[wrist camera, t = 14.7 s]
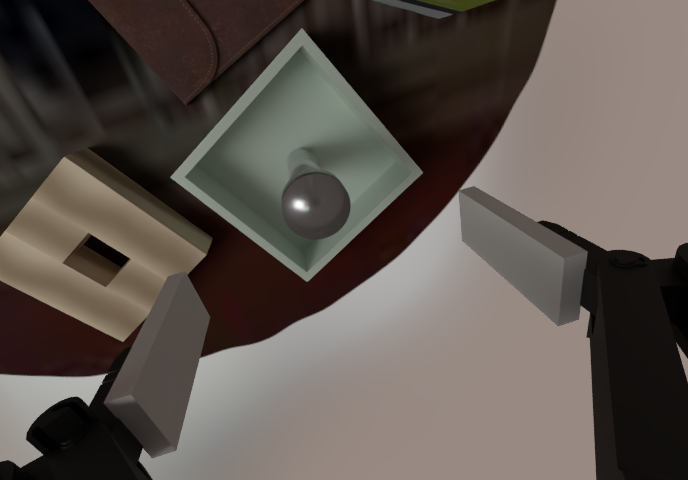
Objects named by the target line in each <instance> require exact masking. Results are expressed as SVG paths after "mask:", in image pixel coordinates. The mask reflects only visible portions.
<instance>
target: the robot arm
mask: <svg viewBox="0 0 688 480" xmlns="http://www.w3.org/2000/svg"><path fill="white" fill-rule="evenodd" d="M459 202H460V215H461V228H462V229H461V230H462V241H463V242H465V243H466V244H467V245H468V246H469V247H470V248H471V249H472V250H474V251H475V252H476V253H477V254H478V255H479V256H480V257H481V258H483V259H484V260H485V261H486V262H487V263H488V264H489V265H490V266H492V267H493V268H494V269H495V270H496V271H497V272H498V273H499V274H500V275H501V276H503V277H504V278H505V279H506V280H507V281H508V282H509V283H510V284H512V285H513V286H514V287H515V288H516V289H517V290H518V291H519V292H520V293H522V294H523V295H524V296H525V297H526V298H527V299H529V301H531V302H532V303H533V304H534V305H535V306H536V307H537V308H538V309H540V310H541V311H542V312H543V313H544V314H545V315H546V316H547V317H548V318H550V319H551V320H552V321H553V322H554V323H555V324H557V326H560V325H563V324H566V323H569V322H572V321H575V320H578V319H579V314H580V307H581V306H583V307H584V308H585V309H586V310H588V311H589V312H590V319H589V325H588V332H587V337H588V338H590V349H591V372H592V393H593V415H594V437H595V458H596V478H597V479H596V480H688V382H687V378H686V375H685V372H684V368H683V365H682V361H681V358H680V354H679V351H678V348H677V344H678V345H679V347H680V348H681V350H682V351H683V352H684V354H685V355H686V357H687V358H688V243H685V244H682V245H680V246H679V247H678V249H677V251H676V255H675V258H668V259H656V260H650V259H649V258H648V257H646V256H644V255H643V254H640V253H636V252H633V251H627V250H611V251H606V250H604V249H603V248H600V247H599V246H597V245H595V244H593V243H591V242H590V241H588V240H586V239H584V238H582V237H580V236H577V235H576V234H575V233H573V232H571V231H568V230H567V229H565V228H564V227H562V226H560V225H558V224H555V223H551V222H547V221H540V222H535V221H534V220H532V219H530V218H528V217H527V216H525V215H523V214H521V213H520V212H518V211H516V210H514V209H513V208H511V207H509V206H507V205H506V204H504V203H502V202H500V201H499V200H497V199H495V198H494V197H492V196H490V195H488V194H487V193H485V192H483V191H481V190H480V189H478V188H476V187H474V186H473V187H470V188H466V189H463V190H459ZM209 319H210V316H209V314H208V312H207V311H206V309H205V307H204V305H203V303H202V301H201V300H200V298H199V296H198V294H197V292H196V291H195V289H194V287H193V285H192V283H191V281H190V280H189V278H188V276H187V274H186V272H185V271H184V272H181V273H177V274H174V275H170V276H168V277H167V279H166V281H165V283H164V285H163V287H162V289H161V291H160V293H159V295H158V297H157V299H156V301H155V303H154V305H153V307H152V309H151V311H150V313H149V315H148V317H147V319H146V321H145V323H144V325H143V327H142V328H141V330H140V332H139V334H138V336H137V338H136V340H135V342H134V344H133V346H132V347H129V348H126V349H124V350H123V352H122V353H121V354H120V355H119V356H118V357H117V358H116V359H115V360H114V362H113V363H112V365H111V367H110V369H109V371H108V375H106V376H105V378H104V380H103V382H102V385H100V387H99V389H98V391H97V393H96V394H95V397H94V398H93V400H92V402H91V404H90V406H89V407H88V405H87V404H86V403H85V402H84V401H83V400H82V399H80V398H79V397H70V398H68V399H64V400H62V401H60V402H58V403H56V404H55V405H53V406H51V407H50V408H49V409H47V410H46V411H45V412H44V413H42V414H41V415H40V416H39V417H38V418H37V419H36V420H35V421H34V423H33V424H32V425H31V427H30V428H29V430H28V432H27V437H26V440H27V441H28V442H30V443H31V444H32V445H33V446H34V447H35V448H36V449H38V450H39V451H40V452H41V453H42V454H43V456H41V457H39V458H37V459H36V460H34V461H32V462H30V463H28V464H27V465H25V466H23V467H22V468H20V467H18V466H17V465H16V464H15V463H13V462H11V461H8V460H7V461H2V462H0V480H152V478H151V477H150V475H149V474H148V472H147V471H146V469H145V468H144V467H143V465H142V464H141V463H140V462H139V461H138V460H139V457H140V454H141V451H142V448H144V450H145V451H146V452H147V453H148V454H149V455H150V456H151V458H155V457H157V456H161V455H164V454H167V453H170V452H173V451H176V449H177V445H178V441H179V437H180V433H181V429H182V426H183V421H184V418H185V413H186V410H187V406H188V402H189V398H190V394H191V390H192V386H193V382H194V378H195V374H196V370H197V366H198V363H199V359H200V355H201V351H202V347H203V343H204V339H205V335H206V331H207V327H208V323H209ZM676 342H677V344H676Z"/></svg>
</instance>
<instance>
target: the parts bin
mask: <svg viewBox="0 0 688 480" xmlns="http://www.w3.org/2000/svg"><path fill="white" fill-rule="evenodd" d="M297 148H305V149H308V150H309V151H311V152H312V153H313V155H314V156H315V158H316V160H317V162H318V164H319V166H320V167H321V169H322V170H325V171H328V172H330V173H332V174H333V175H335V176H336V177H337V178H338V179H339V180H340V181H341V183H342V184H343V186H344V187H345V189H346V190H347V192H348V194H349V198H350V203H351V208H350V214H349V217H348V220H347V221H346V223H345V225H344V226H343V227H342V228H341V229H340V230H339V231H338V232H337V233H335V234H334V235H332V236H330V237H327V238H324V239H307V238H303V237H301V236H299V235H297V234H296V233H294V232H293V231H292V230H291V229H290V228H289V227H288V226H287V224H286V222H285V220H284V218H283V214H282V204H281V198H282V193H283V189H284V187H285V185H286V184H287V182H288V181H289V175H288V169H287V158H288V155H289V154H290V153H291V152H292V151H293V150H295V149H297ZM422 173H423V172H422V171H421V169H420V168H419V167H418V166H417V165H416V163H415V162H414V161H413V160H412V159H411V157H410V156H409V155H408V154H407V153H406V152H405V150H404V149H403V148H402V147H401V146H400V144H399V143H398V142H397V141H396V140H395V138H394V137H393V136H392V135H391V134H390V132H389V131H388V130H387V129H386V128H385V127H384V125H383V124H382V123H381V122H380V121H379V119H378V118H377V117H376V116H375V115H374V113H373V112H372V111H371V110H370V109H369V107H368V106H367V105H366V104H365V103H364V102H363V100H362V99H361V98H360V97H359V96H358V94H357V93H356V92H355V91H354V90H353V88H352V87H351V86H350V85H349V84H348V82H347V81H346V80H345V79H344V78H343V77H342V75H341V74H340V73H339V72H338V71H337V69H336V68H335V67H334V66H333V65H332V63H331V62H330V61H329V60H328V59H327V57H326V56H325V55H324V54H323V53H322V52H321V50H320V49H319V48H318V47H317V46H316V44H315V43H314V42H313V41H312V40H311V38H310V37H309V36H308V35H307V34H306V32H305V31H304V30H303V29H301V30H300V31H299V32H298V33H297V34H296V35H295V37H294V38H293V39H292V40H291V41H290V42H289V43H288V44H287V46H286V47H285V48H284V49H283V50H282V51H281V52H280V54H279V55H278V56H277V57H276V58H275V59H274V60H273V61H272V63H271V64H270V65H269V66H268V67H267V68H266V69H265V71H264V72H263V73H262V74H261V75H260V76H259V77H258V79H257V80H256V81H255V82H254V83H253V84H252V85H251V86H250V88H249V89H248V90H247V91H246V92H245V93H244V94H243V96H242V97H241V98H240V99H239V100H238V101H237V102H236V103H235V105H234V106H233V107H232V108H231V109H230V110H229V111H228V113H227V114H226V115H225V116H224V117H223V118H222V119H221V120H220V122H219V123H218V124H217V125H216V126H215V127H214V128H213V130H212V131H211V132H210V133H209V134H208V135H207V136H206V137H205V139H204V140H203V141H202V142H201V143H200V144H199V145H198V147H197V148H196V149H195V150H194V151H193V152H192V153H191V154H190V156H189V157H188V158H187V159H186V160H185V161H184V162H183V164H182V165H181V166H180V167H179V168H178V169H177V170H176V171H175V173H174V174H173V175H172V176H171V177H170V178H172V179H173V180H174V181H176V182H177V183H178V184H180V185H181V186H182V187H184V188H185V189H186V190H187V191H189V192H190V193H191V194H193V195H194V196H195V197H197V198H198V199H199V200H201V201H202V202H203V203H204V204H206V205H207V206H208V207H210V208H211V209H212V210H214V211H215V212H216V213H218V214H219V215H220V216H221V217H223V218H224V219H225V220H227V221H228V222H229V223H231V224H232V225H233V226H235V227H236V228H237V229H239V230H240V231H241V232H242V233H244V234H245V235H246V236H248V237H249V238H250V239H252V240H253V241H254V242H256V243H257V244H258V245H259V246H261V247H262V248H263V249H265V250H266V251H267V252H269V253H270V254H271V255H273V256H274V257H275V258H276V259H278V260H279V261H280V262H282V263H283V264H284V265H286V266H287V267H288V268H290V269H291V270H292V271H293V272H295V273H296V274H297V275H299V276H300V277H301V278H303V279H304V280H305V281H307V282H308V281H309V280H310V279H311V278H312V277H313V276H314V275H315V274H316V273H317V272H318V271H319V270H320V269H322V268H323V267H324V266H325V265H326V264H327V263H328V262H329V261H330V260H331V259H332V258H333V257H334V256H335V255H336V254H337V253H338V252H340V251H341V250H342V249H343V248H344V247H345V246H346V245H347V244H348V243H349V242H350V241H351V240H352V239H353V238H354V237H355V236H357V235H358V234H359V233H360V232H361V231H362V230H363V229H364V228H365V227H366V226H367V225H368V224H369V223H370V222H371V221H372V220H373V219H375V218H376V217H377V216H378V215H379V214H380V213H381V212H382V211H383V210H384V209H385V208H386V207H387V206H388V205H389V204H390V203H391V202H393V201H394V200H395V199H396V198H397V197H398V196H399V195H400V194H401V193H402V192H403V191H404V190H405V189H406V188H407V187H408V186H410V185H411V184H412V183H413V182H414V181H415V180H416V179H417V178H418V177H419V176H420V175H421V174H422Z"/></svg>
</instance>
